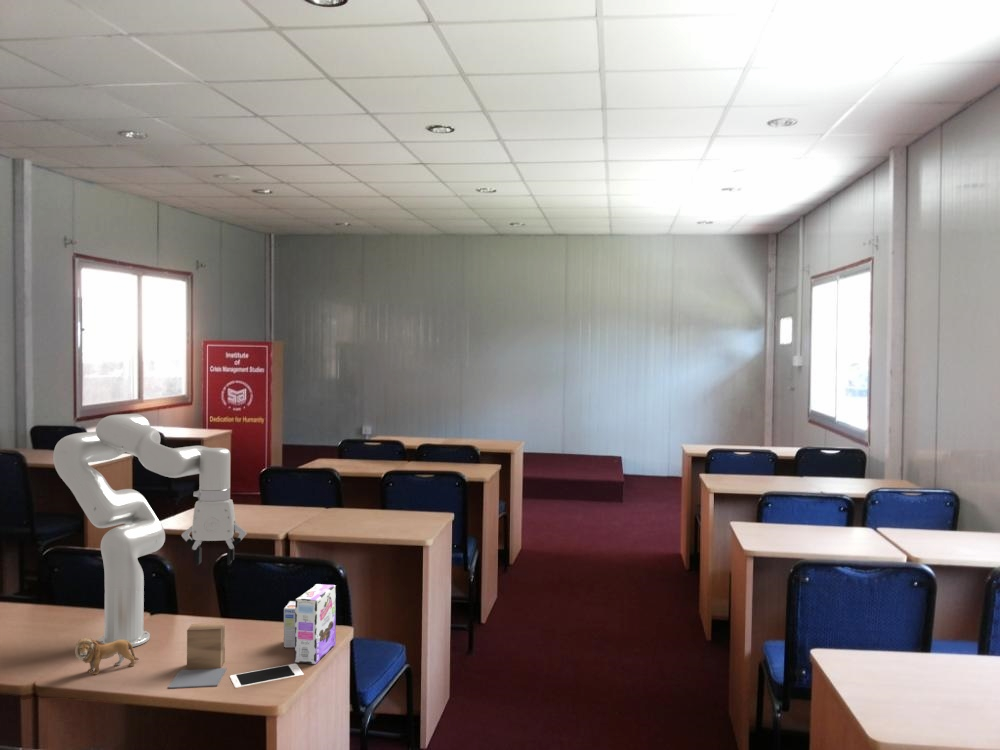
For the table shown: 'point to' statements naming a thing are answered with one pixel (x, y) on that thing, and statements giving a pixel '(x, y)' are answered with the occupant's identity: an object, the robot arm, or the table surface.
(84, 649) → the lion figurine
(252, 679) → the cell phone
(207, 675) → the mat
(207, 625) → the tan wooden block
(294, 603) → the light bulb box
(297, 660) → the candy box
